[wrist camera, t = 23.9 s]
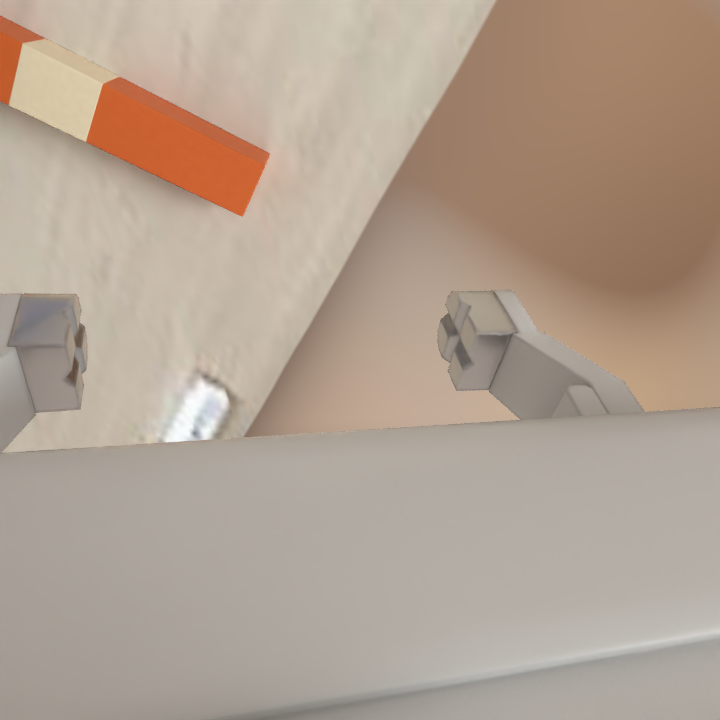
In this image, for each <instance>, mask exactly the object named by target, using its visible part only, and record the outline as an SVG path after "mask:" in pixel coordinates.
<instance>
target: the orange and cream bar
mask: <svg viewBox="0 0 720 720" xmlns="http://www.w3.org/2000/svg"><path fill="white" fill-rule="evenodd" d="M0 101H1V102H3V103H5V104H8V105H9V106H11V107H13V108H15V109H17V110H19V111H21V112H23V113H26V114H28V115H30V116H32V117H34V118H36V119H38V120H40V121H42V122H44V123H46V124H49V125H51V126H53V127H55V128H57V129H59V130H61V131H63V132H65V133H67V134H69V135H72V136H74V137H76V138H78V139H80V140H82V141H84V142H87V143H89V144H91V145H93V146H95V147H98V148H100V149H102V150H104V151H106V152H108V153H110V154H112V155H114V156H116V157H118V158H121V159H123V160H125V161H127V162H129V163H131V164H133V165H135V166H137V167H139V168H141V169H144V170H146V171H148V172H150V173H152V174H154V175H156V176H158V177H160V178H162V179H164V180H167V181H169V182H171V183H173V184H175V185H177V186H179V187H181V188H183V189H185V190H187V191H190V192H192V193H194V194H196V195H198V196H200V197H202V198H204V199H206V200H208V201H210V202H213V203H215V204H217V205H219V206H221V207H223V208H225V209H227V210H229V211H231V212H233V213H236V214H238V215H240V216H243V215H244V213H245V210H246V208H247V206H248V204H249V201H250V199H251V197H252V195H253V192H254V190H255V188H256V185H257V183H258V181H259V179H260V176H261V174H262V172H263V170H264V167H265V165H266V163H267V160H268V158H269V155H270V154H269V153H268V152H266V151H264V150H262V149H260V148H258V147H256V146H254V145H252V144H250V143H248V142H246V141H244V140H242V139H240V138H238V137H236V136H234V135H232V134H230V133H228V132H227V131H225V130H223V129H221V128H219V127H217V126H215V125H213V124H211V123H209V122H207V121H205V120H203V119H201V118H199V117H197V116H195V115H193V114H191V113H189V112H187V111H185V110H184V109H182V108H180V107H178V106H176V105H174V104H172V103H170V102H168V101H166V100H164V99H162V98H160V97H158V96H156V95H154V94H152V93H150V92H148V91H146V90H144V89H142V88H141V87H139V86H137V85H135V84H133V83H131V82H129V81H127V80H125V79H123V78H121V77H119V76H118V75H116V74H114V73H112V72H110V71H108V70H106V69H104V68H102V67H100V66H98V65H96V64H94V63H92V62H91V61H89V60H87V59H85V58H83V57H81V56H79V55H77V54H75V53H73V52H71V51H69V50H67V49H65V48H63V47H61V46H59V45H57V44H55V43H53V42H51V41H49V40H48V39H45V38H43V37H41V36H39V35H37V34H35V33H33V32H31V31H29V30H27V29H25V28H23V27H21V26H19V25H17V24H15V23H14V22H12V21H10V20H8V19H6V18H4V17H2V16H0Z"/></svg>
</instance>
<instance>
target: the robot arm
mask: <svg viewBox="0 0 720 720" xmlns="http://www.w3.org/2000/svg"><path fill="white" fill-rule="evenodd" d="M445 306H446V308H447V310H448V312H449V313H448V314H447V315H445V316H444V317H443V318H442V319H441V320H440V324H439V328H438V347H439V351H440V353H441V356H442V358H444V359H445V360H446V361H448V362H449V363H450V365H449V369H448V373H449V375H450V377H451V380H452V382H453V384H454V386H455V389H456V390H457V391H464V390H489V392H490V393H491V394H492V395H493V396H495V397H496V398H497V399H498V400H499V401H500V402H501V403H503V404H504V405H505V406H506V407H507V408H508V409H509V410H510V411H511V412H513V413H514V414H515V415H516V416H517V417H518V418H519V419H520V420H511V421H496V422H480V423H465V424H450V425H433V426H418V427H404V428H403V427H402V428H386V429H370V430H355V431H341V432H325V433H309V434H293V435H278V436H262V437H246V438H231V439H215V440H199V441H183V442H168V443H152V444H136V445H121V446H105V447H89V448H73V449H58V450H42V451H26V452H11V453H1V452H2V451H3V450H4V449H5V448H6V447H7V446H8V445H9V444H10V442H11V441H12V440H13V439H14V438H15V437H16V436H17V435H18V434H19V433H20V432H21V430H22V429H23V428H24V427H25V426H26V425H27V424H28V423H29V422H30V421H31V420H32V419H33V417H34V416H35V415H36V414H35V413H39V412H52V411H65V410H79V409H81V402H82V396H83V389H84V384H83V379H82V373H84V372H85V371H86V367H87V337H86V331H85V326H83V325H82V324H81V323H80V316H81V306H80V301H79V297H78V296H77V294H27V293H24V294H0V720H720V407H713V408H698V409H682V410H667V411H652V412H645V411H644V410H643V408H642V407H641V405H640V404H639V402H638V401H637V399H636V398H635V397H634V395H633V394H632V392H631V391H630V389H629V388H628V386H627V385H626V383H625V382H624V381H622V380H621V379H619V378H617V377H616V376H614V375H612V374H611V373H609V372H608V371H606V370H604V369H603V368H601V367H599V366H598V365H596V364H595V363H593V362H591V361H590V360H588V359H587V358H585V357H583V356H582V355H580V354H578V353H577V352H575V351H574V350H572V349H570V348H568V347H567V346H566V345H564V344H562V343H561V342H559V341H557V340H556V339H554V338H552V337H551V336H549V335H548V334H546V333H539V332H538V330H537V329H536V327H535V325H534V324H533V322H532V320H531V319H530V317H529V316H528V314H527V312H526V311H525V309H524V307H523V306H522V304H521V303H520V301H519V299H518V297H517V296H516V294H515V293H514V292H513V291H511V290H491V291H452V292H451V293H450V294H449V296H448V298H447V301H446V304H445Z"/></svg>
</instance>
